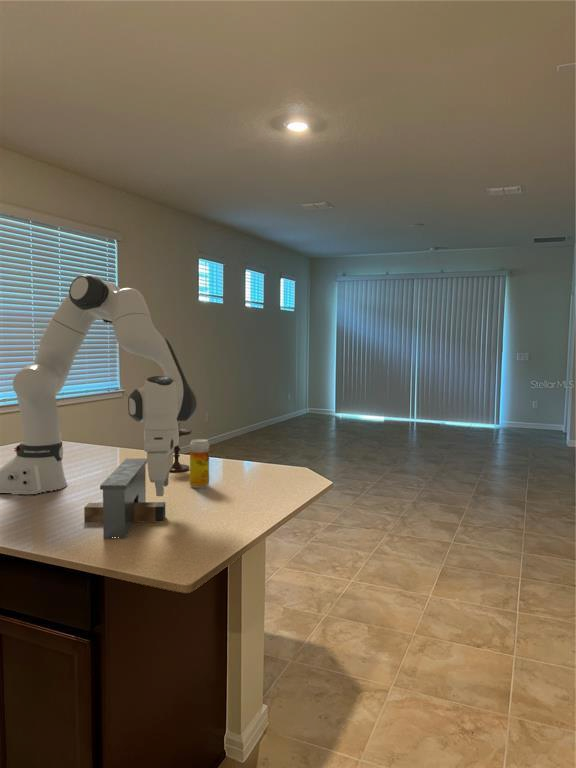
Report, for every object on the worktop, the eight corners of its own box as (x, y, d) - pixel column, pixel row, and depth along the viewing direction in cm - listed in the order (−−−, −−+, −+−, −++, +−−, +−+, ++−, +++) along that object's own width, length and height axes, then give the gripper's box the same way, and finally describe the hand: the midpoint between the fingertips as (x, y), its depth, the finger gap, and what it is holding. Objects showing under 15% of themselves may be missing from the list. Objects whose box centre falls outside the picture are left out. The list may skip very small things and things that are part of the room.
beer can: (205, 489, 174) (205, 442, 172) (187, 488, 175) (187, 441, 174) (211, 484, 180) (211, 439, 178) (194, 483, 181) (194, 438, 180)
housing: (100, 539, 129) (100, 485, 128) (126, 502, 158) (126, 458, 157) (126, 539, 130) (126, 485, 129) (147, 502, 159) (147, 458, 158)
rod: (84, 522, 141) (84, 507, 141) (88, 517, 145) (88, 502, 145) (163, 521, 143) (163, 506, 142) (165, 516, 147) (165, 502, 146)
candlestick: (196, 470, 198) (196, 374, 195) (168, 474, 192) (167, 374, 189) (184, 464, 207) (184, 372, 204) (156, 468, 201) (156, 372, 198)
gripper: (155, 432, 153) (156, 480, 155) (142, 446, 133) (144, 502, 134) (177, 431, 154) (178, 480, 155) (169, 446, 134) (170, 501, 135)
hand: (162, 490), depth 145 cm, fingers open, 8 cm apart
